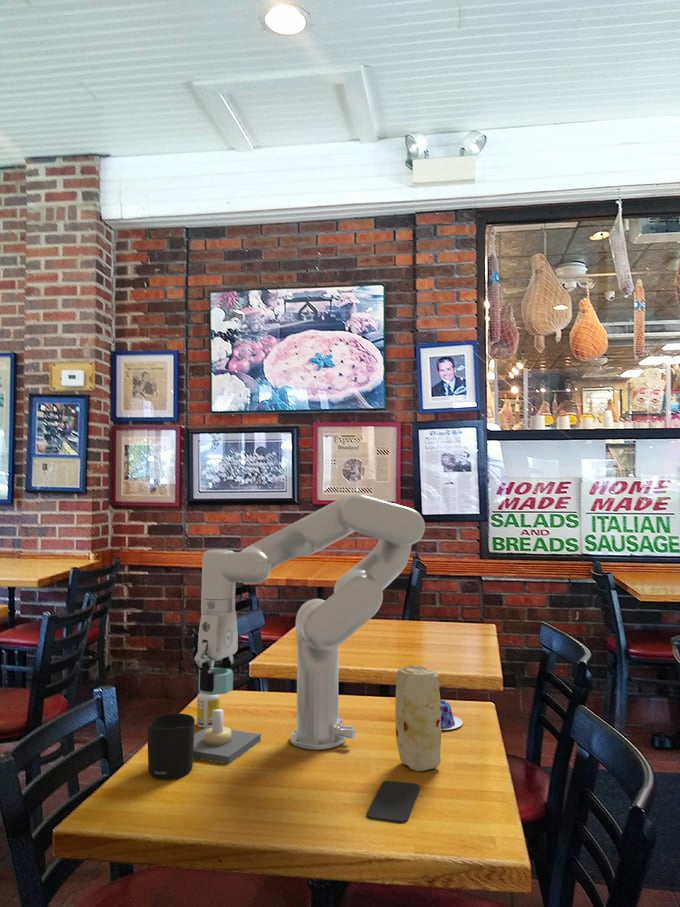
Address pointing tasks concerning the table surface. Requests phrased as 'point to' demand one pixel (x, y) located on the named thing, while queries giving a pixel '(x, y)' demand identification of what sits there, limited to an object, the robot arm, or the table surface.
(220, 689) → the ring
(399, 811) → the phone
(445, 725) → the pudding
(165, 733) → the pen holder
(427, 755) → the food model
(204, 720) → the supplement bottle
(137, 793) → the table surface
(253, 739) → the post stand
